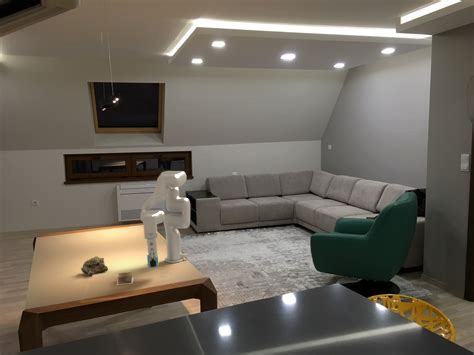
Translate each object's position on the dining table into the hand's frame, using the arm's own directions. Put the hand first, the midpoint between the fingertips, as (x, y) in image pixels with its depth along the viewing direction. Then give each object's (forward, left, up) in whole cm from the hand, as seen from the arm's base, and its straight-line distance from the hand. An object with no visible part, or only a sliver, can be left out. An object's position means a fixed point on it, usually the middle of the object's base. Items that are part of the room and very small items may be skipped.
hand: (153, 264), depth 231 cm
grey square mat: (+16, +1, -9) cm, 19 cm away
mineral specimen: (+36, -22, -10) cm, 44 cm away
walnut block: (+16, +1, -8) cm, 18 cm away
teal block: (0, 0, -1) cm, 1 cm away
